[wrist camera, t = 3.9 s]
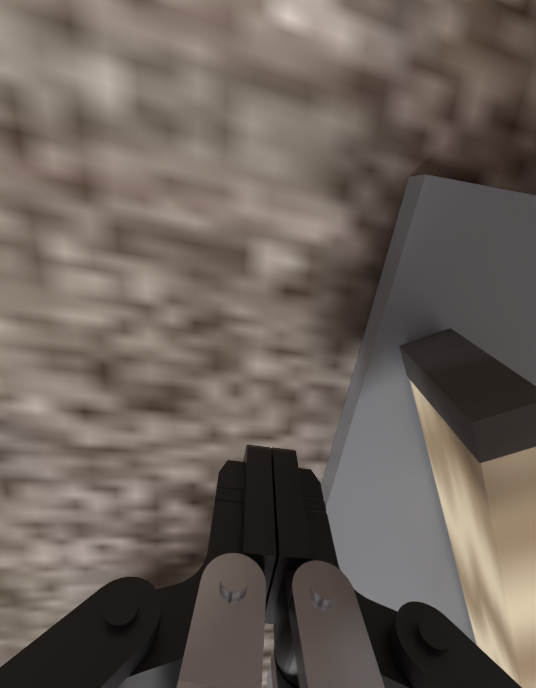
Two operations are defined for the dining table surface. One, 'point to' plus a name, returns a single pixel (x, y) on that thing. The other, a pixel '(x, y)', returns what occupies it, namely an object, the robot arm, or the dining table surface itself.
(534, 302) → the dial plate
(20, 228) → the dining table surface
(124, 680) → the robot arm
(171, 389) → the dining table surface
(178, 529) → the dining table surface
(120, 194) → the dining table surface
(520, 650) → the dial lever
